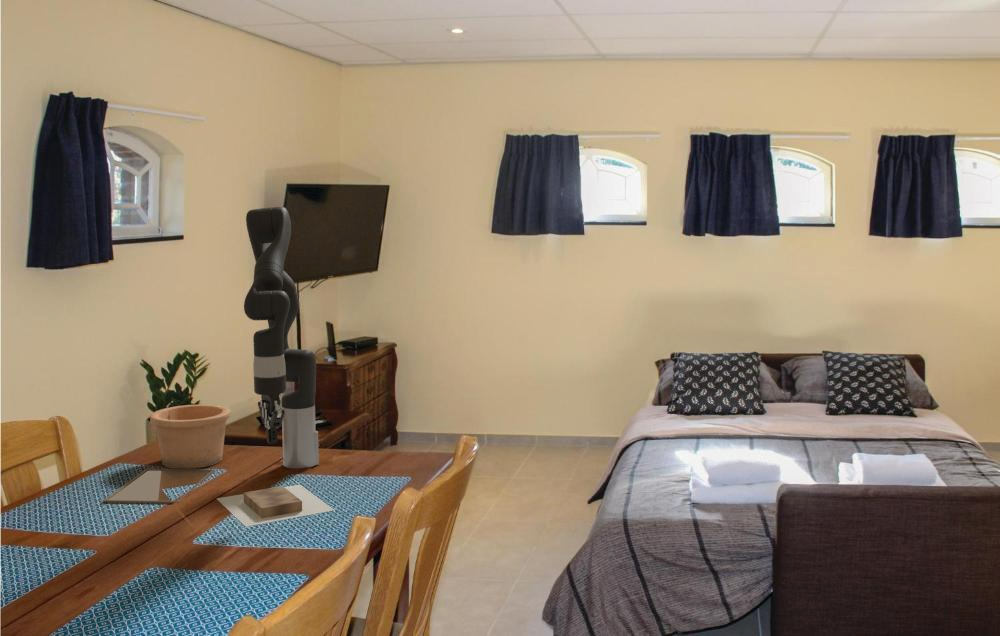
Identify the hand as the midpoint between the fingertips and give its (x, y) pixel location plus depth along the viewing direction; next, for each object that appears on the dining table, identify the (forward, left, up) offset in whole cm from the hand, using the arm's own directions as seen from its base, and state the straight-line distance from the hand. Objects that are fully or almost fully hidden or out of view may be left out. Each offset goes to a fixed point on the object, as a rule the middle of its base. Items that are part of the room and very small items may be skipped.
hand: (272, 443), depth 231 cm
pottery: (+6, -53, -17) cm, 56 cm away
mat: (-1, -2, -17) cm, 17 cm away
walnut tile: (0, -8, -15) cm, 17 cm away
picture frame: (+19, -33, -17) cm, 42 cm away
